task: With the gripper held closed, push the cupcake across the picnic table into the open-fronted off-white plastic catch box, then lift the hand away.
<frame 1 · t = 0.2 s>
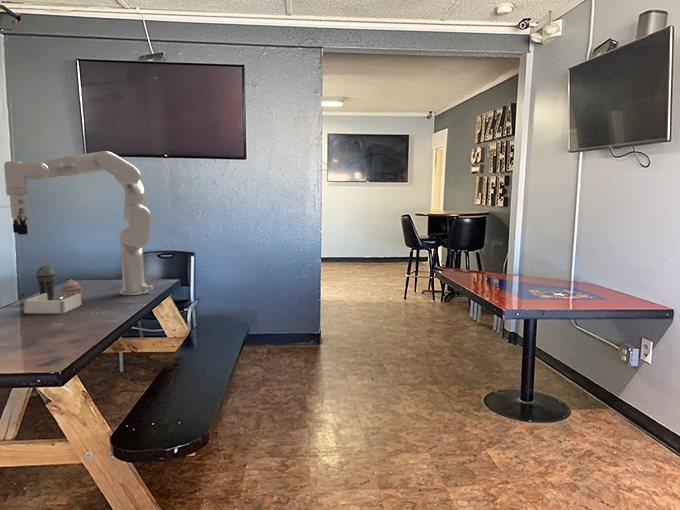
hand: (20, 233, 203), 31 cm above the table, tool pointing down, fingers open, 9 cm apart
beverage cup: (47, 301, 217), on the table
catch box: (54, 308, 204), on the table
cupcake: (72, 301, 217), on the table
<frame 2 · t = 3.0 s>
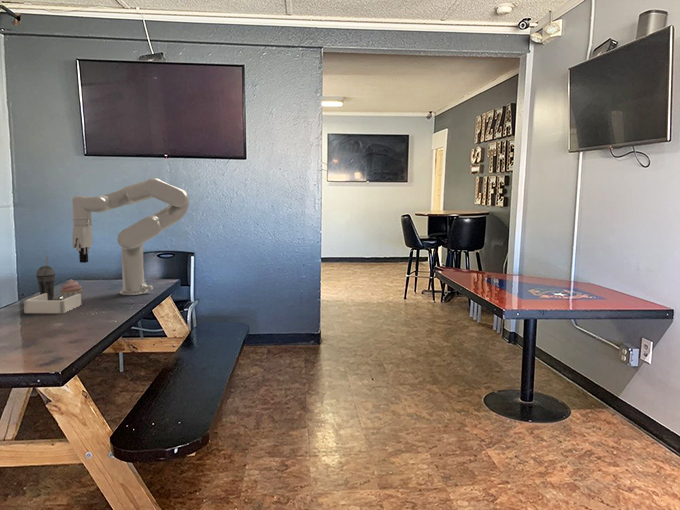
hand: (83, 262, 228), 15 cm above the table, tool pointing down, fingers closed
nothing on the table moved.
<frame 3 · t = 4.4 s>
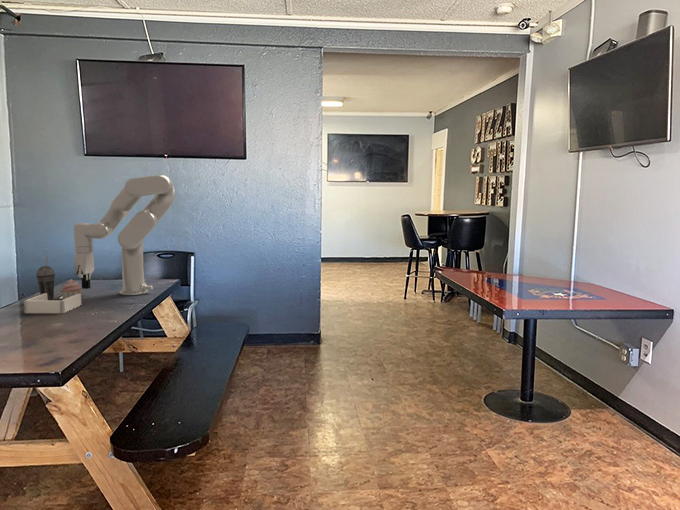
hand: (86, 288, 230), 3 cm above the table, tool pointing down, fingers closed
nothing on the table moved.
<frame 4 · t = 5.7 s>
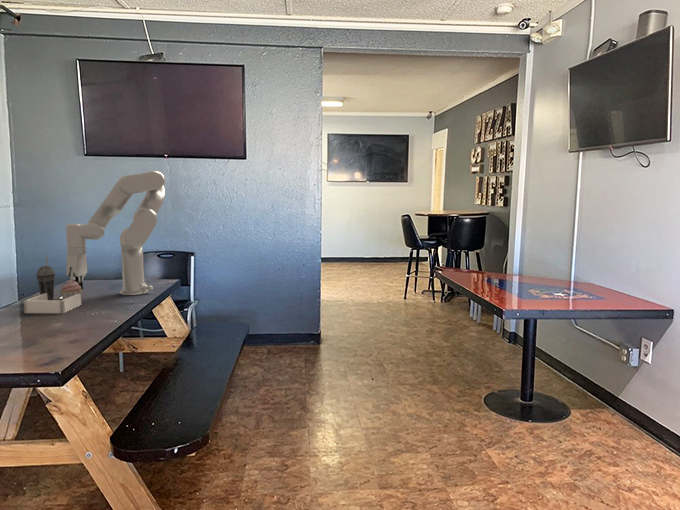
hand: (78, 290, 223), 3 cm above the table, tool pointing down, fingers closed
cupcake: (72, 301, 217), on the table, touching gripper
everything else where it was.
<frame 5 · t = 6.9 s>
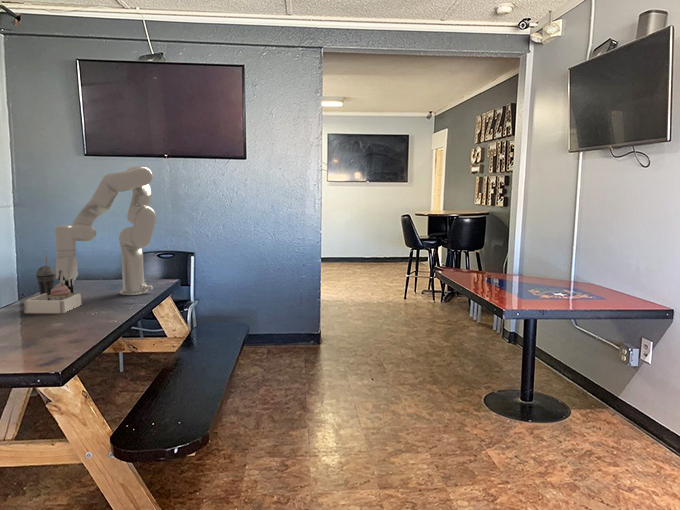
hand: (68, 295, 215), 3 cm above the table, tool pointing down, fingers closed
cupcake: (61, 306, 209), resting in catch box, touching gripper
everything else where it was.
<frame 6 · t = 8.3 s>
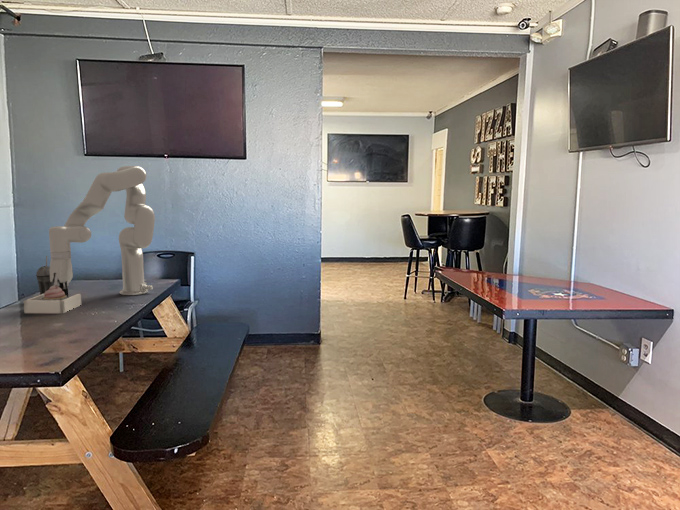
hand: (63, 297, 210), 3 cm above the table, tool pointing down, fingers closed
cupcake: (55, 308, 204), resting in catch box, touching gripper
everything else where it was.
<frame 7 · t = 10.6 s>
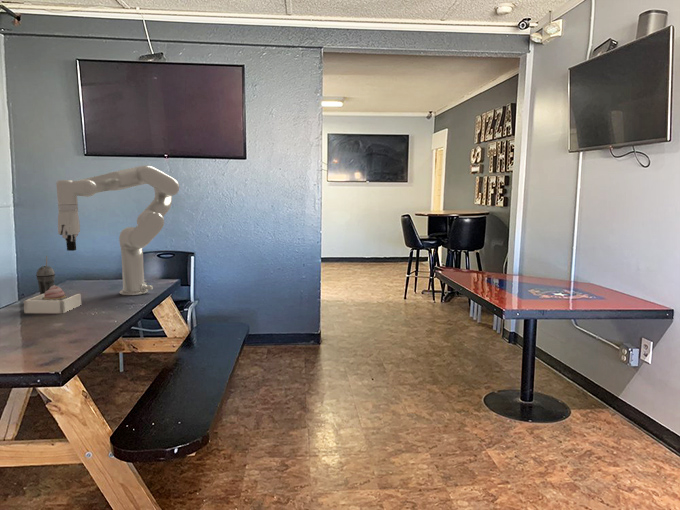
hand: (71, 250, 216), 23 cm above the table, tool pointing down, fingers closed
cupcake: (55, 308, 204), resting in catch box
everything else where it was.
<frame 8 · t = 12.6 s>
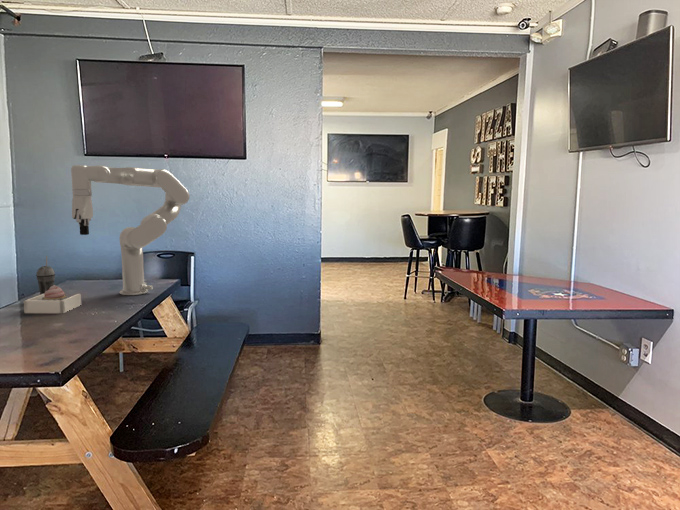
hand: (84, 234, 220), 29 cm above the table, tool pointing down, fingers closed
nothing on the table moved.
at the end: cupcake 1.6 cm from the target spot on the catch box, point 0.0 cm above the catch box's base; cupcake tilted 0°; beverage cup moved 0.2 cm from its start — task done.
